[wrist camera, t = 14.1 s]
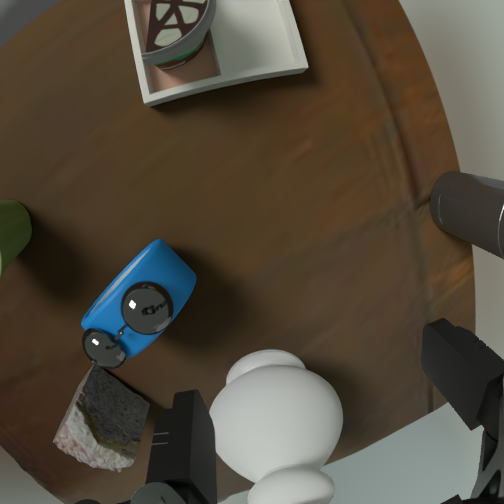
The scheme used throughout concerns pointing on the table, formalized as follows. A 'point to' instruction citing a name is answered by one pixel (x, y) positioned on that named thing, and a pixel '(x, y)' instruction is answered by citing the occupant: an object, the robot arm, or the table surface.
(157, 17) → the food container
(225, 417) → the decorative vase
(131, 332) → the alarm clock
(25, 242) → the plant pot
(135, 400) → the geological specimen
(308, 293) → the table surface
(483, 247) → the robot arm
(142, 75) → the tray
